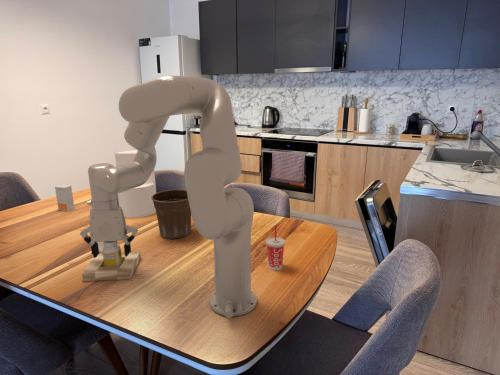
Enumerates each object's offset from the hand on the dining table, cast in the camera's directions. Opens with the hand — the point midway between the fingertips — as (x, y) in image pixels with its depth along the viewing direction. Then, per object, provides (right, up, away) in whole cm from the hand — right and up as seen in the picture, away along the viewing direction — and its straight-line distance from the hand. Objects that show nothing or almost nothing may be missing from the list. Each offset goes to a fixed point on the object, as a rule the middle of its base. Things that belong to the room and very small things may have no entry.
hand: (112, 255), depth 112 cm
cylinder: (-9, +10, +56) cm, 57 cm away
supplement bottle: (0, -5, +1) cm, 5 cm away
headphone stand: (-9, -1, +16) cm, 19 cm away
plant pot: (+14, +3, +29) cm, 33 cm away
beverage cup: (+52, -4, +2) cm, 52 cm away
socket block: (0, -5, +1) cm, 5 cm away
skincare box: (-45, +11, +59) cm, 75 cm away
